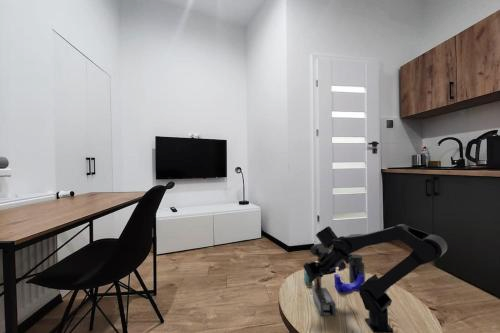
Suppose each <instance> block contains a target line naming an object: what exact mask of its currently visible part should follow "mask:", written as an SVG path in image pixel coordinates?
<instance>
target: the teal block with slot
mask: <svg viewBox="0 0 500 333" xmlns="http://www.w3.org/2000/svg"><path fill="white" fill-rule="evenodd" d="M303 279H304V282H305V284H306V285H312V281H314V279H313V280H310V279H309V277H308V275H307V273H306V271H305V269H304V268H303Z"/></svg>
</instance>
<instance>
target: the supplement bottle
mask: <svg viewBox="0 0 500 333" xmlns="http://www.w3.org/2000/svg"><path fill="white" fill-rule="evenodd" d="M351 255H352V257H353V261H352V262H350V263H349V264H348V276H349V277H348V279H349V281H350V282H351V283H353V282H354V281H355V280H356V279H357V276H358V274H362V275H363V276H364V282H365V281H366V268H365V267H366V265H365V263H364V261H363V256H362V255H360V254H356V253H351Z"/></svg>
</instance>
